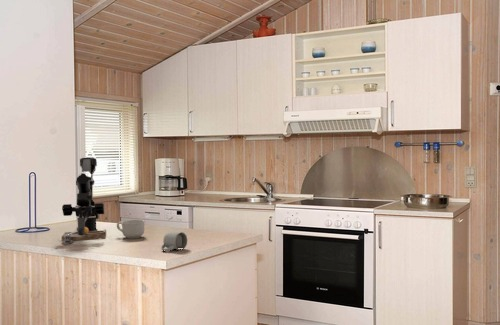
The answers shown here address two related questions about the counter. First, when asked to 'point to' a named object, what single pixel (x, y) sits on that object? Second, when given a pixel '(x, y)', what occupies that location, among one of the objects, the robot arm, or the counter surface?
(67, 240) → the pivot post
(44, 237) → the counter surface
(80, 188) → the robot arm
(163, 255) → the counter surface
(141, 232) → the teacup
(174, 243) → the ceramic mug
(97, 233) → the lane
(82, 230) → the lever
